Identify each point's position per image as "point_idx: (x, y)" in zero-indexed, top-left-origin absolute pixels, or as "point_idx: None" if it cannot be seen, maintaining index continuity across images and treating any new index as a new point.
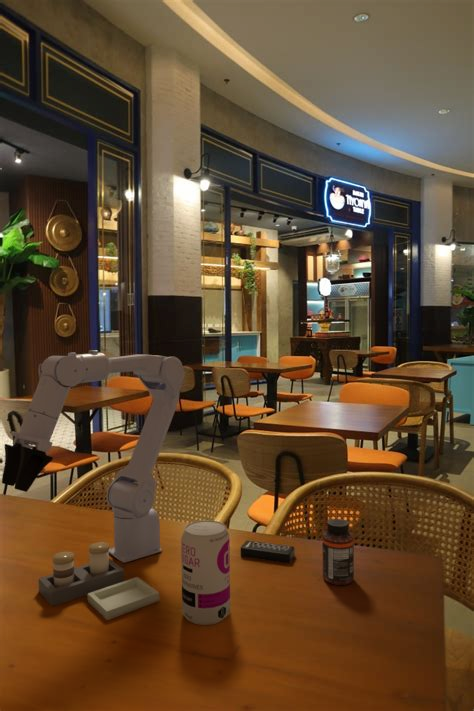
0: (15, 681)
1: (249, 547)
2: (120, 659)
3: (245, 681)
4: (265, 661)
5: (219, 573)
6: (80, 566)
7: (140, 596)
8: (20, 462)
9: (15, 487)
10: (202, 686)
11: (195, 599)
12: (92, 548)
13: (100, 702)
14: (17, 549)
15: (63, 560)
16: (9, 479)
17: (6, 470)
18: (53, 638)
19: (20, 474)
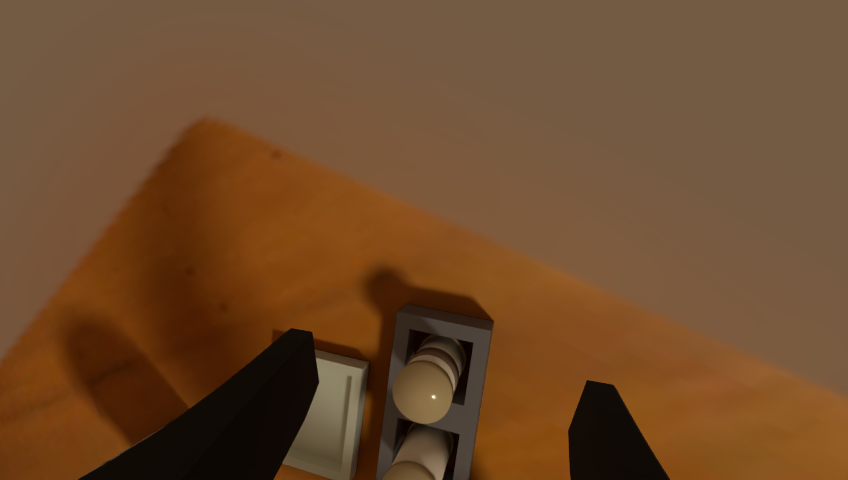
0: (236, 141)
1: None
2: (181, 284)
3: (51, 360)
4: (61, 409)
5: None
6: (471, 436)
7: (303, 436)
8: (168, 477)
9: (292, 333)
10: (74, 318)
11: (130, 448)
12: (405, 474)
13: (126, 208)
14: (841, 433)
15: (396, 377)
16: (583, 439)
17: (616, 473)
18: (299, 243)
19: (210, 394)
